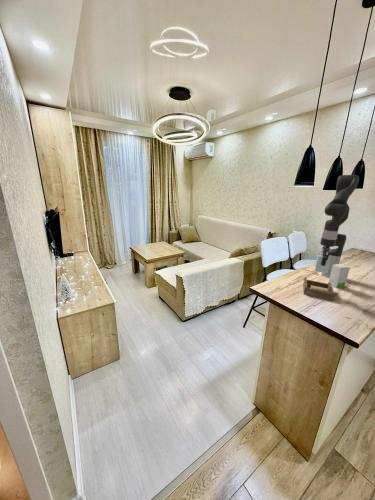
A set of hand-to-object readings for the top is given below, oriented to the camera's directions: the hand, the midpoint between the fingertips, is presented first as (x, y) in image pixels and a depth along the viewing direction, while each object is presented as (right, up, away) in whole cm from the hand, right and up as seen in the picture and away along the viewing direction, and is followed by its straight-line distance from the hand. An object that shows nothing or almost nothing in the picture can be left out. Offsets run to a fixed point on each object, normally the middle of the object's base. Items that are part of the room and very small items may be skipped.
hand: (322, 264), depth 130 cm
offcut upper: (-3, -17, -1) cm, 17 cm away
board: (0, -4, +1) cm, 5 cm away
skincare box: (+18, -17, +14) cm, 28 cm away
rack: (-2, -19, +3) cm, 19 cm away
